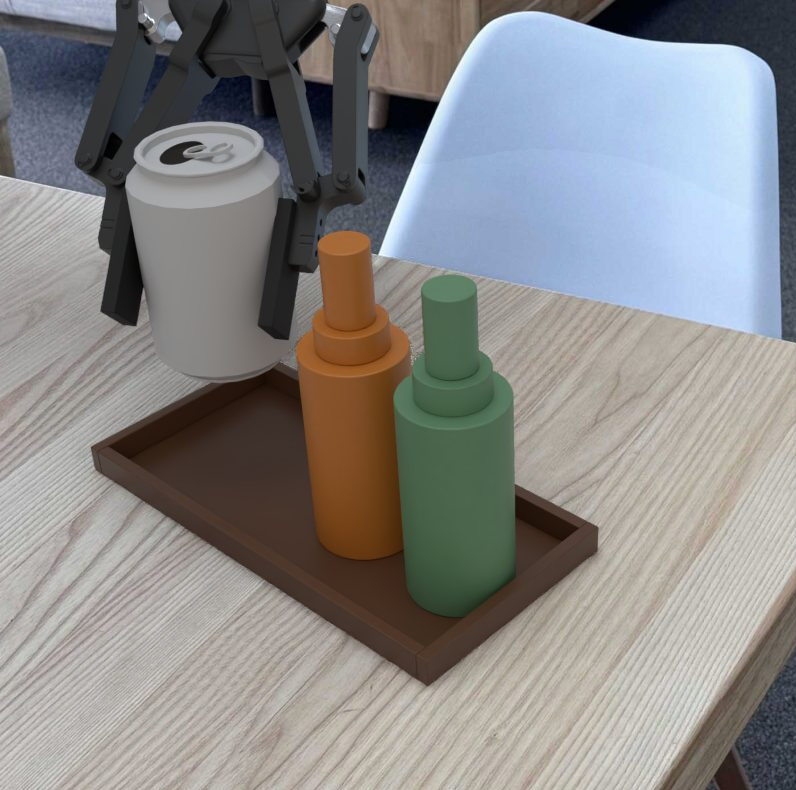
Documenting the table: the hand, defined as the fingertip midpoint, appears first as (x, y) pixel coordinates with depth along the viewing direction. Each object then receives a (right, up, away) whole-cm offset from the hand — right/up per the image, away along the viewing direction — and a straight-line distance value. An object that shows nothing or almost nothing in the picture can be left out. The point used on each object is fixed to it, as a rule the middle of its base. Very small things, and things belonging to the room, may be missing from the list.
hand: (195, 325), depth 69 cm
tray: (+6, -10, +5) cm, 13 cm away
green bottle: (+13, -13, -1) cm, 18 cm away
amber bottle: (+8, -10, +3) cm, 14 cm away
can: (+1, -1, +5) cm, 5 cm away
